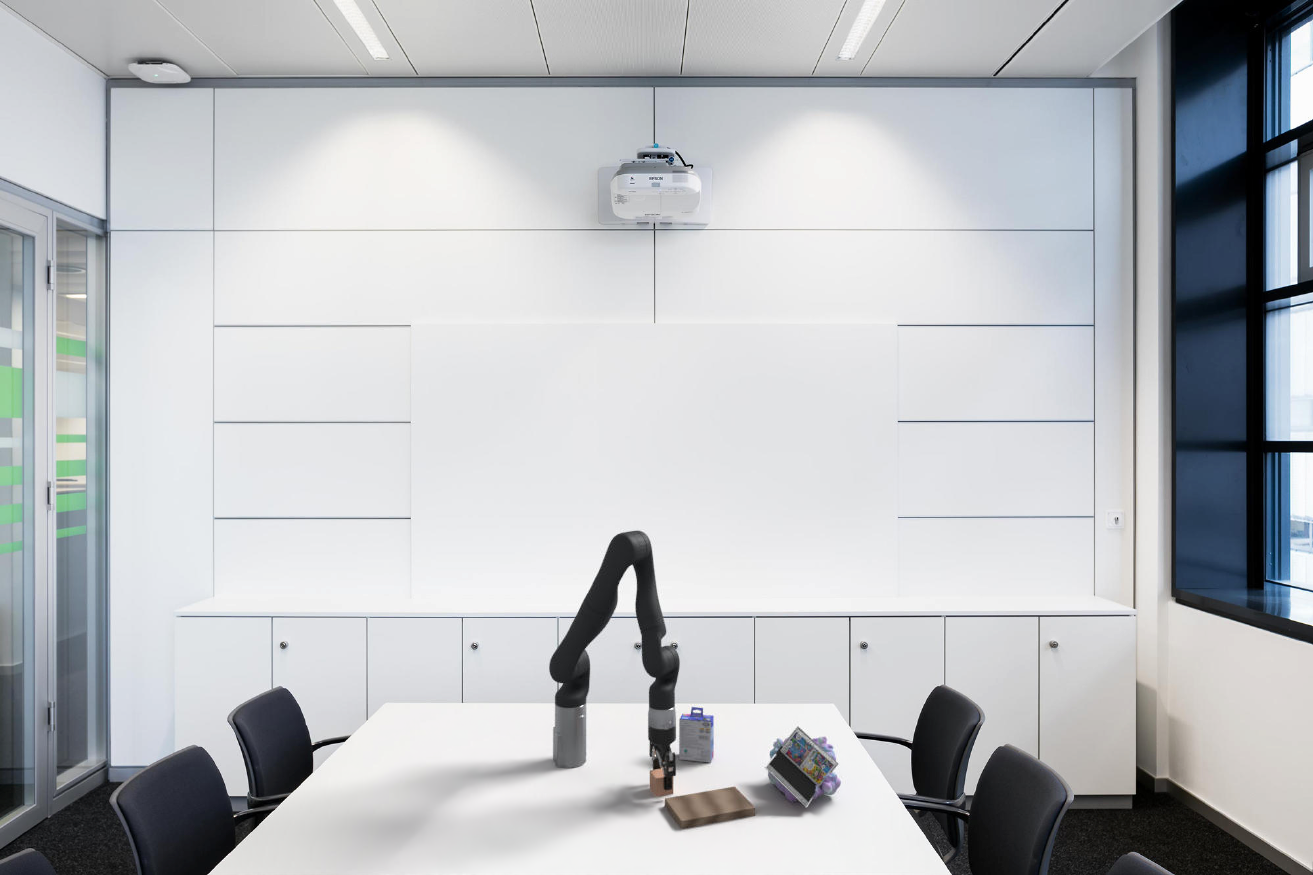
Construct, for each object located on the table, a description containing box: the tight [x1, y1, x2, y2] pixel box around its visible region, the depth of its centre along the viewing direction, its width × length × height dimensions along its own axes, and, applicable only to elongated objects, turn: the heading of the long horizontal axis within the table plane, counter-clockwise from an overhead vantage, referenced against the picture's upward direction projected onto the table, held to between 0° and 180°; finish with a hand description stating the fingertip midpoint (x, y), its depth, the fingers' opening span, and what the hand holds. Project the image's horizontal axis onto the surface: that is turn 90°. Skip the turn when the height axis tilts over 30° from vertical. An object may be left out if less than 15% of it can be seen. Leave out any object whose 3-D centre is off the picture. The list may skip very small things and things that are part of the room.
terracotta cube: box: [649, 767, 674, 798], centre depth 201 cm, size 5×5×5 cm
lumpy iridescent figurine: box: [764, 726, 842, 808], centre depth 201 cm, size 20×22×18 cm
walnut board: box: [664, 786, 756, 830], centre depth 190 cm, size 20×12×2 cm, turn 110°
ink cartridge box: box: [678, 706, 715, 763], centre depth 222 cm, size 10×6×14 cm, turn 78°
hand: (662, 782), depth 201 cm, fingers open, 8 cm apart
